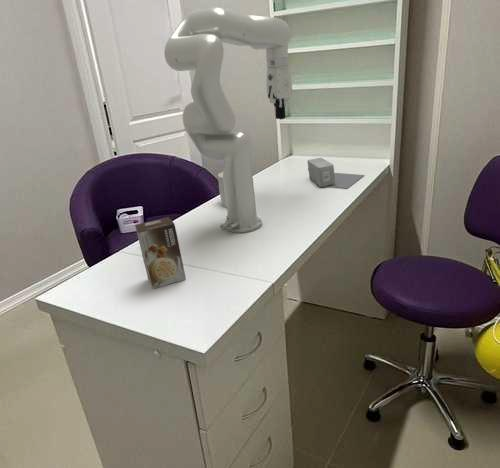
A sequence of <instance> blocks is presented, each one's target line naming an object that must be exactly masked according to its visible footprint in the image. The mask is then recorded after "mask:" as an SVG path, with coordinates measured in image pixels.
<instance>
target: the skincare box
mask: <svg viewBox="0 0 500 468" xmlns="http://www.w3.org/2000/svg"><path fill="white" fill-rule="evenodd" d="M307 166H308V167H307V170H308V175H309V176H308V177H309V180H311V181H313V182H314V183H315V184H316V186H317V185H319V186H318V187H320V188H321V187H322V188H323V186H327V185H333V184H335V174H334V173H335V167H334V164H333V163H332V162H329V161H328V160H326V159H325V158H323V157H317V158H312V159H311V158H310V159H307Z"/></svg>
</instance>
